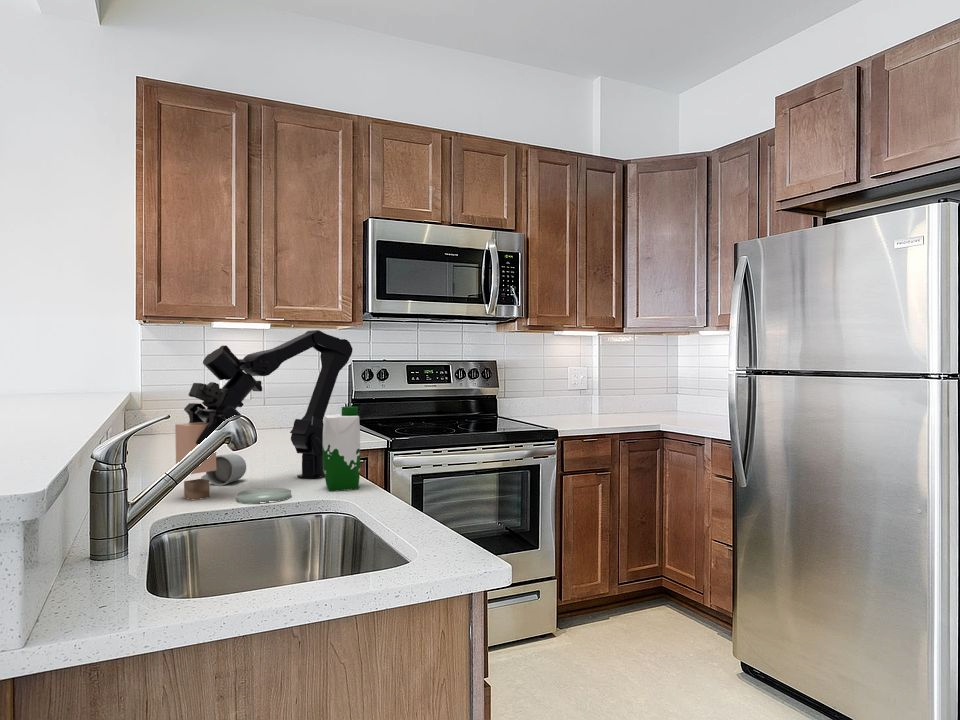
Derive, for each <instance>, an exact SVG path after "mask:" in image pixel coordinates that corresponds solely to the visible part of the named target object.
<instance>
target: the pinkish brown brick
mask: <svg viewBox="0 0 960 720" xmlns="http://www.w3.org/2000/svg"><path fill="white" fill-rule="evenodd" d="M207 425H208V423H207V422H196V423H189V422H186V423H175V425H174V426H175V427H174V429H175V431H174V432H175V435H174V437H175V465H176V464H177V463H178V462H180V461H181V460H182V459H183V458H184V457H185V456H186V455H187V454H188V453H189V452H190V451H192V450H193V449H194V448H195V447H196V446H197V444H196V441H197V440H198V438H199V436H200V435H201V434H202V432H203V431H204V429H205V428H206V426H207ZM216 456H217V451H216V452H215V453H213V454H212V455H211V456H210V457H209V458H208V459H206V460H205V461H204V462H203V463H202V464H201V465H200V466H198V467H197V468H196V469H195V470H194V471H193V472H192V473H191V474H190V475H195V474H201V473H206V472H209V471H215V470H216Z"/></svg>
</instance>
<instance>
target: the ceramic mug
mask: <svg viewBox="0 0 960 720" xmlns="http://www.w3.org/2000/svg"><path fill="white" fill-rule="evenodd" d="M246 471H247V463H246V460H245V459H244V458H243V456H241V455H240V454H236V453H229V454H221V455H216V470H215V471H209V472H205V474H204V475H202V476H201V477H200V479H205V480H209V483H210V484H212V485H215V486H217V485H218V486H220V485H222V486H226V485H227V484H228V485H229V484H231V483H233V482H237V481H239V480H240V479H242V478H243V477H244V475H245V474H246Z"/></svg>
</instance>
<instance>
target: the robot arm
mask: <svg viewBox="0 0 960 720" xmlns="http://www.w3.org/2000/svg"><path fill="white" fill-rule="evenodd" d="M311 348H313V349H314V350H315V351H317V352H318V353H320V362H321V367H320V368H321V369H320V371H319V375H318V378H317V379H316V383H315V385H314V389H313V391H312V394H311V398H310V399H309V403H308V406H307V409H306V412H305V415H304V416H303V417H302V418H295V420H294V421H293V427H292V429H291V430H290V432H289V433H290V434H291V436H290V442H291V443H292V445H293V446H294V447H295V450H296V454H301V474H297V476H296V477H297V478H299V479H300V478H303V479H320V478H322V477H325V475H324V470H323V425H324V415H326V411H327V409H328V405H329V403H330V400H331V397H332V394H333V390H334V389H335V384H336V382H337V379H338V376H339V373H340V371H341V370H342V369H343V368H344V367H345V366H346V365H347V364H348V362H349V360H350V358H351V356H352V355H353V347H352V345H351V342H350V341H349V340H347V339H345V338H344V339H342V338H341V339H340V338H339V337H336V336H333V335H331V334H327V333H325V332H323V331H321V330H318V329H316V330H314V329H313V330H312V329H311V330H307V331H306V332H304V333H302V334H300V335H298V336H297V337H294V338H292V339H290V340H288V341H286V342H284V343H281V344H280V345H277V346H275V347H273V348H270V349H266V350H260V351H256V352H252V353H249V354H246V355H245V356H244V357H243V359H239V358H238V357H237V356H236V355H235V354H234V353H233V352H232V350H231V349H230V348H229V346H228V345H221V346H219V348H216V349H215V350H213V351H212V352H211V353H208V354H207V355H206V356H205V357H204V358H203V361H202V364H203V365H204V366H205V368H207V369H208V371H209V372H211V373H212V375H214V376H215V377H216V378H217V379H218V380H219V381H222V380H223V381H224V380H225V381H227V382H226V383H225V384H224V385H223V386H222V387H220V384H219V383H217V382H214V381H212V382H211V381H210V382H209V383H208V384H206V383H203V382H202V383H201V382H193V383H192V385H191V388H190V390H189V392H188V397H190V398H195V399H198V400H200V401H202V403H199V402H192V403H191V402H190V403H188V404H187V405H186V406H185V407H184V408H183V410H184V411H185V413H186V414H187V415H188V418H189V422H188V423H196V422H207V423H208V425H207V426H206V428H205V429H204V431H203V432H202V434H201V435H200V436H199V438H198V440H197V441H196V444H197V445H198V444H200V443H201V442H202V441H203V440H204V439H205V438H207V437H208V436H209V435H210V434H211V433H212V432H213V431H214V430H215V429H216V428H217V427H218V426H219V425H220V424H221V423H222V422H223V421H225V420H226V419H228V418H230V417H232V416H234V415H242V414H241V413H240V412H239V411H238V410H237V409H238V408H243V406H244V403H243V401H244V400H245V399H246V397H247V396H249V394H250V393H251V391H252V392H263V386H262V381H261V380H257V379H256V378H254V377H267V376H269V375H271V374H272V373H274V372H275V371H276V370H278V369H279V367H281V365H283V363H284V362H286V361H288V360H290V359H292V358H294V357H296V356H297V355H299V354H301V353H302V354H303V352H306V351H307V350H310V349H311Z"/></svg>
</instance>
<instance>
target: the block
mask: <svg viewBox="0 0 960 720" xmlns="http://www.w3.org/2000/svg"><path fill="white" fill-rule="evenodd" d="M183 493H184V495H183V497H185V498H184V499H186V498H189V499H188V500H190V499H197V500H201V499H200V498H203V499H207V497H208V498H210V495H211V494H210V481H209V480H205V479H201V478H197V479H190V480H184V482H183Z"/></svg>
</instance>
